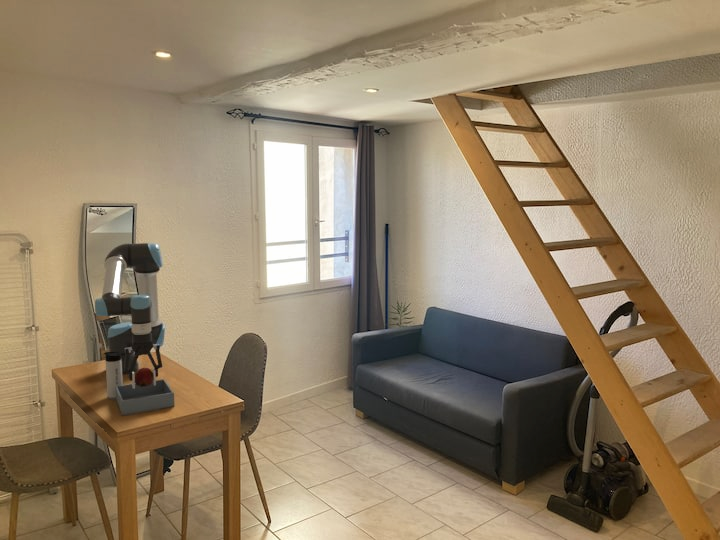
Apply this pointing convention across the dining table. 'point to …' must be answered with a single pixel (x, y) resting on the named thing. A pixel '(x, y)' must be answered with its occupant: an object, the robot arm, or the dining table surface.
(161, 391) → the tub
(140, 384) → the apple
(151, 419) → the dining table surface
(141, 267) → the robot arm
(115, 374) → the travel mug
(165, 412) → the dining table surface
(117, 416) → the dining table surface
